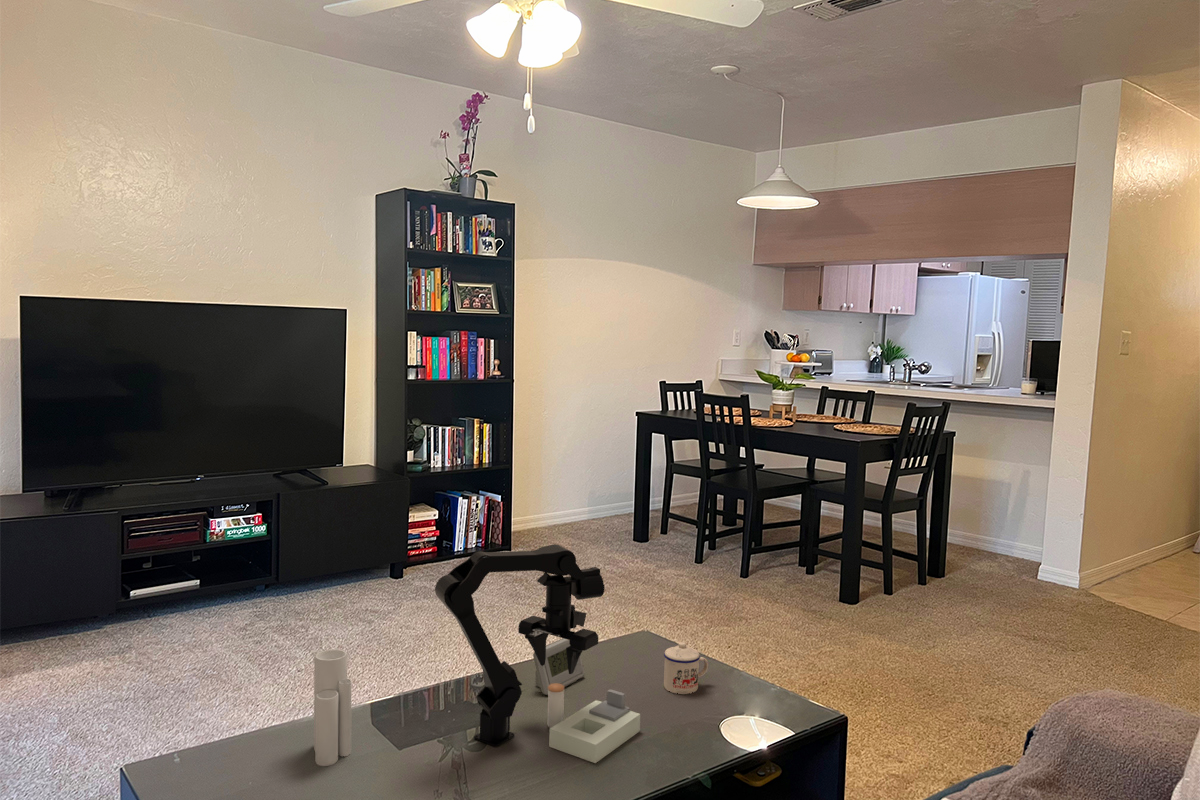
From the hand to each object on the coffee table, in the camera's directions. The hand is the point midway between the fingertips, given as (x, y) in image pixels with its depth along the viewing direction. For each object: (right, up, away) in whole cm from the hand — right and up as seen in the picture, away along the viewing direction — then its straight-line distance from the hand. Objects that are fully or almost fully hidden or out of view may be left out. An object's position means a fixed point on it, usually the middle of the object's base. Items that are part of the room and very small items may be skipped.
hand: (556, 669), depth 193 cm
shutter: (+12, -9, -1) cm, 15 cm away
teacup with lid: (+32, -12, +24) cm, 42 cm away
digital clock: (-1, -12, +23) cm, 26 cm away
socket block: (+9, -14, -5) cm, 17 cm away
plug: (0, -13, +1) cm, 13 cm away
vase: (-46, -13, -14) cm, 50 cm away
